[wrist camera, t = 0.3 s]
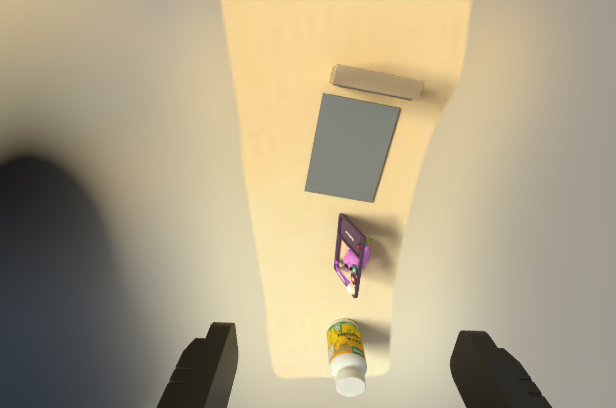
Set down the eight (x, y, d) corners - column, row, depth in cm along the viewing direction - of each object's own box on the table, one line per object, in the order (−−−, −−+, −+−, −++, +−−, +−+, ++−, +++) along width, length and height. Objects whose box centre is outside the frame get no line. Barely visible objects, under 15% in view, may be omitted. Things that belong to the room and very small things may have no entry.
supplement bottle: (323, 338, 48) (325, 396, 39) (331, 314, 46) (336, 370, 37) (354, 344, 48) (363, 403, 39) (363, 320, 46) (376, 377, 37)
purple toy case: (357, 238, 33) (349, 300, 36) (396, 233, 34) (385, 292, 38) (334, 213, 38) (329, 269, 42) (368, 210, 40) (360, 263, 44)
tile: (332, 67, 32) (337, 64, 25) (402, 81, 32) (424, 81, 26) (329, 84, 32) (333, 85, 26) (397, 97, 33) (418, 102, 26)
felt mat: (322, 93, 33) (323, 93, 32) (399, 108, 33) (399, 108, 33) (304, 190, 37) (304, 190, 37) (371, 201, 38) (372, 202, 38)
